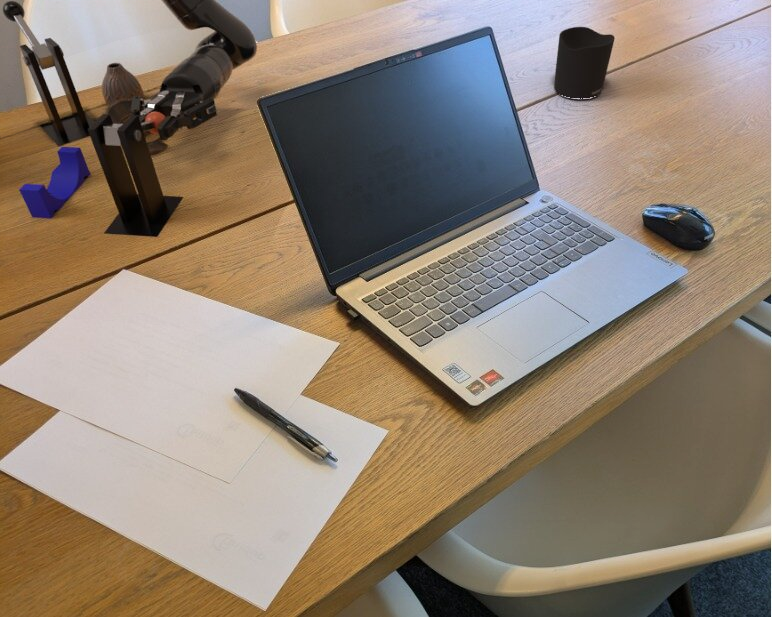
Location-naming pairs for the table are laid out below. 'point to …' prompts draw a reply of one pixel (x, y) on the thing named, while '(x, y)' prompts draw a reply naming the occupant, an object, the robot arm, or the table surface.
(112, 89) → the vase
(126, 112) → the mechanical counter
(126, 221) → the front bracket
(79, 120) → the back bracket
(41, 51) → the back lever
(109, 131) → the front lever
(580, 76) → the pen holder
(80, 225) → the table surface
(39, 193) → the blue curved cradle
